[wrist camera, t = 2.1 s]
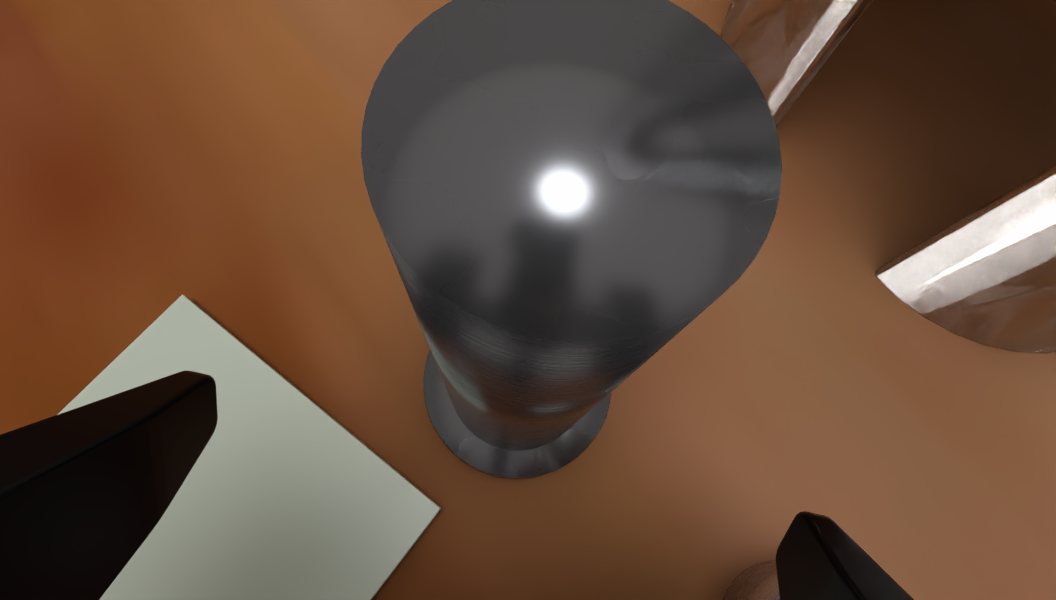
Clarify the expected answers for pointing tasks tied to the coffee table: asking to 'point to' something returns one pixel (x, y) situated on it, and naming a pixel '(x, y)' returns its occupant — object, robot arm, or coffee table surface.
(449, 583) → the coffee table surface
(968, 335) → the grey metal tall arch
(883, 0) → the coffee table surface
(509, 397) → the standoff
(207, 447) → the pad
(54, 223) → the coffee table surface
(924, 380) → the coffee table surface
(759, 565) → the cylinder
